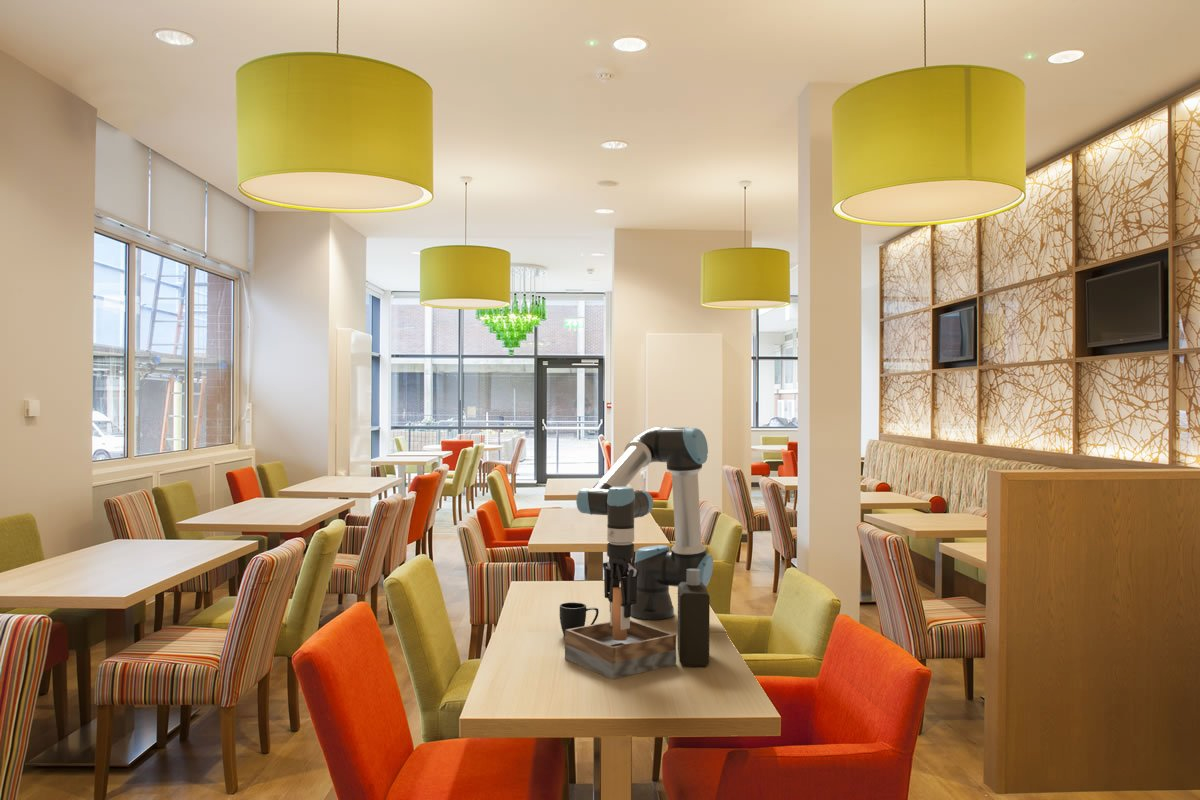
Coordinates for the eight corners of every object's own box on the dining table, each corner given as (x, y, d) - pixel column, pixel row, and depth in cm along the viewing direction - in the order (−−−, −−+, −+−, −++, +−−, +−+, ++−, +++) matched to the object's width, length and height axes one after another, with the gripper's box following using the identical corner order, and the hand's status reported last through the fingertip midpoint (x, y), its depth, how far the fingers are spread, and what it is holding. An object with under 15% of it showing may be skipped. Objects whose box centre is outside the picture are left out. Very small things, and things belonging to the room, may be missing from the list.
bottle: (680, 667, 224) (680, 575, 224) (677, 650, 240) (677, 564, 240) (709, 668, 223) (710, 575, 223) (704, 650, 239) (705, 564, 239)
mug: (596, 641, 249) (596, 609, 249) (557, 639, 250) (557, 607, 250) (599, 633, 257) (600, 603, 257) (561, 632, 258) (562, 601, 258)
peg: (620, 635, 231) (621, 586, 232) (629, 639, 228) (630, 588, 228) (609, 638, 229) (609, 587, 229) (618, 641, 226) (618, 590, 226)
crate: (626, 645, 244) (626, 618, 244) (675, 664, 226) (676, 634, 226) (564, 658, 231) (565, 629, 231) (612, 679, 213) (612, 648, 213)
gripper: (591, 539, 234) (591, 622, 233) (629, 548, 220) (628, 635, 220) (612, 537, 238) (612, 618, 238) (650, 545, 224) (650, 631, 224)
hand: (620, 626), depth 229 cm, fingers closed on peg, 4 cm apart
